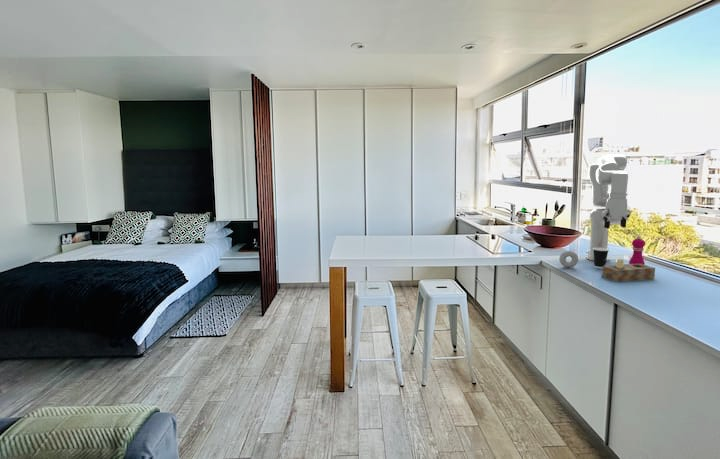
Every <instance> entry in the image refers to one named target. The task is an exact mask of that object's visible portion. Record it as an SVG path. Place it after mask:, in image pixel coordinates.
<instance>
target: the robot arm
mask: <svg viewBox="0 0 720 459" xmlns="http://www.w3.org/2000/svg"><path fill="white" fill-rule="evenodd" d="M627 164H628V159H627V157H626V155H624V154H605V155H602V156H600V157H599V158H598V160H597V163H592V164H590V165H589V166H588V172H587V173H588V178H589V181H590V184H591V186H592V187H591V188H592V189H591V190H592V204H593V206H594V207H596V208H595V209H592V210H591V212H590V214H589V218H590V234H589V235H590V238H589V249H588V250H587V251H586V252H585V253H586V254H587V255H586V257H587V258H586V257H585V258H586V259H587V260H590V261H594V249H593V248H607V249H608V243H609V242H608V241H609V230H608V229H610V227H611V225H619V226H620V227H622V228H626V227H627V220H629V218H630V217H631V214H632V211H631V210H630V209H628V198H627V196H628V193H627V192H628V181H629V180H628V179H629V174H628V173H627V172H626V171H625V169H626V168H627ZM609 185H610V188H609ZM608 261H610V257H608V256H607V259H606V262H608Z"/></svg>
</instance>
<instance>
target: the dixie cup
mask: <svg viewBox="0 0 720 459" xmlns="http://www.w3.org/2000/svg"><path fill="white" fill-rule="evenodd" d="M593 249H594V260H593V264H594V268H595V269H602V270H603V266H606V262H607V261H606V259H607V257H608V253H609V248H608V247H607V248H593Z"/></svg>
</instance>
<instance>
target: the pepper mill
mask: <svg viewBox="0 0 720 459" xmlns="http://www.w3.org/2000/svg"><path fill="white" fill-rule="evenodd" d="M631 245H632V250H633V251H632V255H631V258H630V259H629V262H628V264H637V263H640V264H644V265H646V264H645V259H644V257H643V251H644V247H645V245H646V241H645V240H644V239H643V238H642V237H641V236H640V235H638V236H637V238H635V239H633V240H632V242H631Z"/></svg>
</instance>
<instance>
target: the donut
mask: <svg viewBox="0 0 720 459" xmlns="http://www.w3.org/2000/svg"><path fill="white" fill-rule="evenodd" d="M567 257H568V258H569V257H570V258H571V261H570V260H569V261H567ZM578 262H579V256H578V254H577V253H576V252H574V251H573V250H565V251H563V252H562V253H561V254H560V255H559V263H560V265H561V266H563V267H564V268H573V267H575V266H576V265H577V264H578Z"/></svg>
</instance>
